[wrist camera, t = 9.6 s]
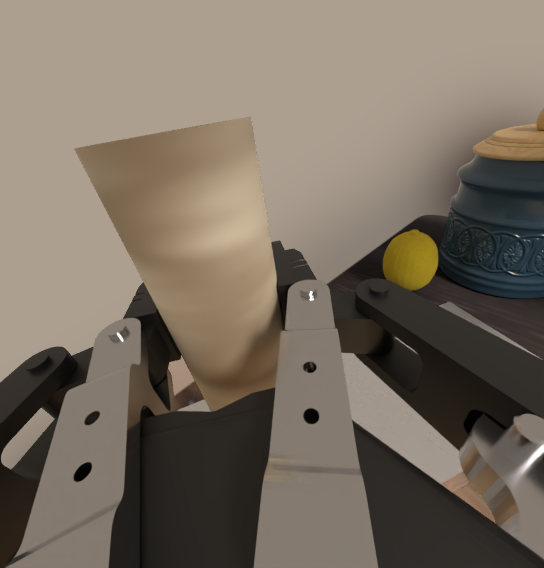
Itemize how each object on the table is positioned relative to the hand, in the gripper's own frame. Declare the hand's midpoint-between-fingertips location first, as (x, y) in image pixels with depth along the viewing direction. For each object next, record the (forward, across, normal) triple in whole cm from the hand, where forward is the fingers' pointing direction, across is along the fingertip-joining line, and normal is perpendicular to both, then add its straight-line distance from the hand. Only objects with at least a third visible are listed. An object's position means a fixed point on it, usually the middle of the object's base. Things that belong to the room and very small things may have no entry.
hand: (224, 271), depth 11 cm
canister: (+13, -31, +15) cm, 37 cm away
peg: (-3, 0, +8) cm, 9 cm away
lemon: (+13, -19, +15) cm, 27 cm away
